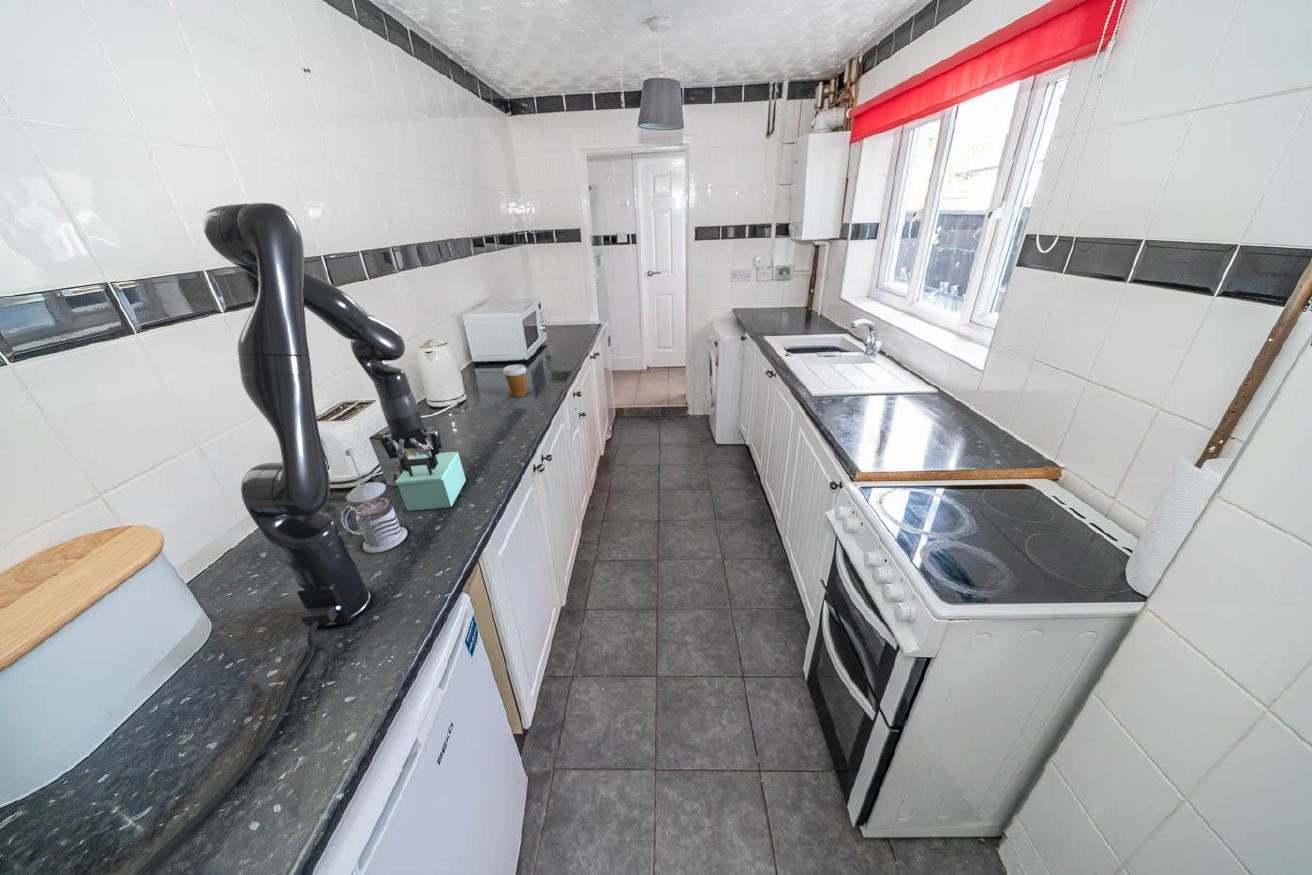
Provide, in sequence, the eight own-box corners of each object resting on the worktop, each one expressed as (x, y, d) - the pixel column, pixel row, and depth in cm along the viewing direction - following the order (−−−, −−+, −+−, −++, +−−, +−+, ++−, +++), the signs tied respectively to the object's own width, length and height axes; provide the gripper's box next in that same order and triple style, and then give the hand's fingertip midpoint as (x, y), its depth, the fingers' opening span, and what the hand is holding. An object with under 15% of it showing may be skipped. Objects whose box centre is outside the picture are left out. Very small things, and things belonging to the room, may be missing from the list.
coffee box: (407, 469, 141) (391, 423, 134) (425, 471, 140) (410, 424, 132) (386, 485, 133) (368, 437, 126) (405, 487, 132) (387, 438, 124)
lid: (441, 480, 117) (435, 462, 114) (395, 484, 116) (388, 466, 114) (458, 453, 130) (453, 436, 127) (417, 457, 129) (411, 440, 126)
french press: (416, 533, 112) (383, 444, 101) (369, 562, 103) (328, 468, 92) (392, 522, 117) (359, 435, 105) (346, 549, 108) (304, 458, 97)
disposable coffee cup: (506, 393, 198) (501, 366, 192) (528, 388, 201) (523, 362, 196) (510, 400, 190) (504, 372, 184) (532, 395, 193) (527, 368, 188)
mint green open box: (451, 506, 122) (442, 479, 118) (407, 510, 121) (397, 483, 117) (466, 480, 134) (458, 454, 130) (425, 483, 133) (417, 457, 129)
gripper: (363, 420, 107) (387, 479, 115) (425, 415, 108) (444, 474, 116) (377, 407, 113) (399, 463, 121) (436, 402, 114) (453, 459, 122)
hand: (421, 468), depth 119 cm, fingers closed on lid, 6 cm apart
